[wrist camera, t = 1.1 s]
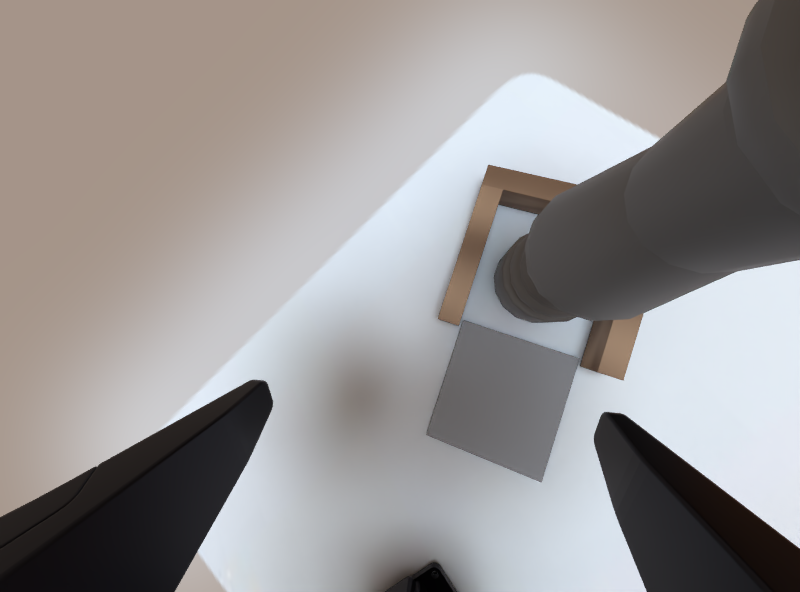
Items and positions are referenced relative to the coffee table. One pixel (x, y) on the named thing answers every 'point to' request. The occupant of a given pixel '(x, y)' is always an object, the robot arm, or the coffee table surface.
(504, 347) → the mat
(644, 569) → the robot arm
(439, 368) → the coffee table surface
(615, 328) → the wooden u-shaped frame
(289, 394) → the coffee table surface
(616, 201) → the candle holder
